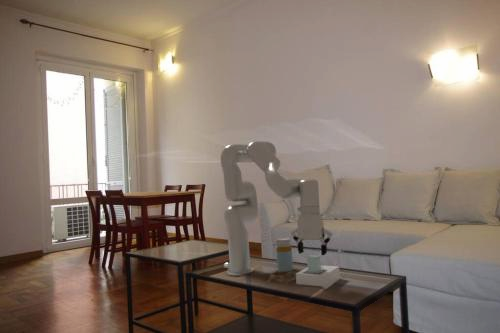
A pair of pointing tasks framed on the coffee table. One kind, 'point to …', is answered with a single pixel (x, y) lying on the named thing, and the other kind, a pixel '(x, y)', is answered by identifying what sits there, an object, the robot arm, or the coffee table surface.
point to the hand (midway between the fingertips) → (312, 253)
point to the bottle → (284, 255)
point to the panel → (319, 277)
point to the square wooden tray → (280, 277)
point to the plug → (314, 264)
